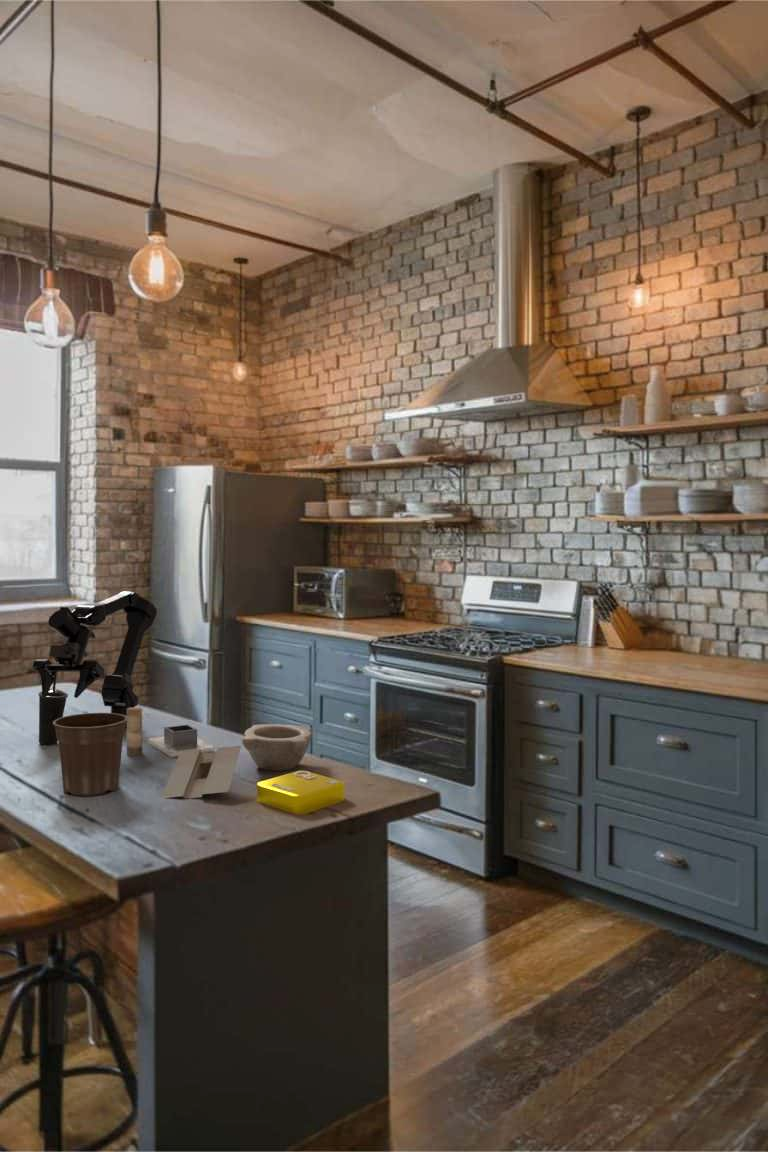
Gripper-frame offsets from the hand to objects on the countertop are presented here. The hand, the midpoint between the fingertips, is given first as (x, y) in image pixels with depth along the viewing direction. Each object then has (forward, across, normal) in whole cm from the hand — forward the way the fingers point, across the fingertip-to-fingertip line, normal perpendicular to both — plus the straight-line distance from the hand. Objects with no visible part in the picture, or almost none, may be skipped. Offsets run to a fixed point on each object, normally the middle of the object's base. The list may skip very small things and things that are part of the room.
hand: (59, 697), depth 232 cm
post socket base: (+6, +30, +17) cm, 35 cm away
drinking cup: (+8, -7, +13) cm, 17 cm away
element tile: (+30, +74, -13) cm, 81 cm away
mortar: (+15, +61, +7) cm, 63 cm away
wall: (+28, +51, -12) cm, 59 cm away
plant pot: (+30, +25, -16) cm, 42 cm away
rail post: (+12, +21, +9) cm, 25 cm away
